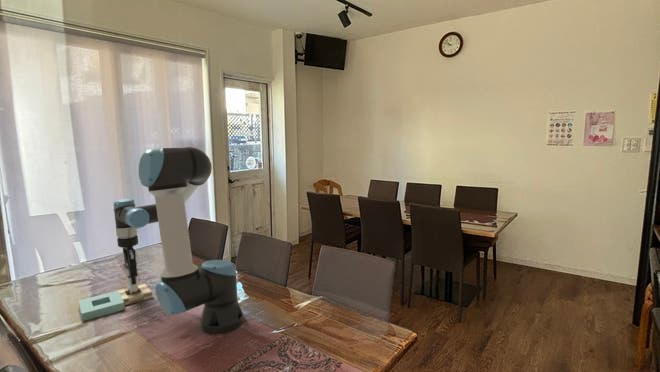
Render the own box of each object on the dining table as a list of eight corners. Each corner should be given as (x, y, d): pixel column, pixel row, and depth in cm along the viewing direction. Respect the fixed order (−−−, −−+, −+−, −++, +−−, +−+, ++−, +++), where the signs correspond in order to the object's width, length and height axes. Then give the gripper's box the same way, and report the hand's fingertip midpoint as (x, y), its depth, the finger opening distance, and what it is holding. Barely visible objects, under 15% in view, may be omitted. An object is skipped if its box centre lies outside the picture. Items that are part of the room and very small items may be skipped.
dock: (124, 309, 143) (124, 302, 143) (82, 321, 135) (81, 313, 134) (118, 297, 154) (118, 290, 154) (79, 307, 145) (78, 300, 145)
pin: (141, 297, 154) (138, 263, 151) (128, 300, 151) (124, 266, 148) (138, 293, 158) (135, 260, 155) (126, 296, 154) (122, 262, 152)
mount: (152, 297, 153) (151, 292, 153) (120, 306, 146) (119, 300, 145) (145, 288, 162) (145, 283, 162) (115, 296, 155) (114, 290, 155)
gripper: (142, 239, 145) (147, 293, 149) (133, 230, 159) (138, 280, 163) (121, 242, 141) (126, 298, 144) (113, 233, 155) (119, 284, 158)
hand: (132, 288), depth 154 cm, fingers open, 5 cm apart
